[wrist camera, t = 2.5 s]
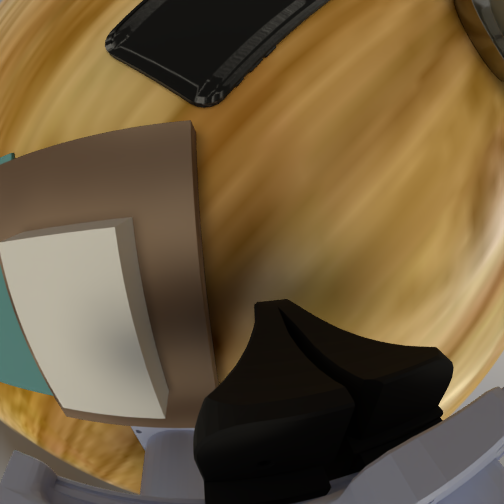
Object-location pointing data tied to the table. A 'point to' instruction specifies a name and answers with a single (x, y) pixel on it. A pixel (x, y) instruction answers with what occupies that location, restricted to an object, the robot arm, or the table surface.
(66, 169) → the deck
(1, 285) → the mat
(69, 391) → the white rectangular block
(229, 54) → the phone
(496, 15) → the lamp
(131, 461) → the table surface
